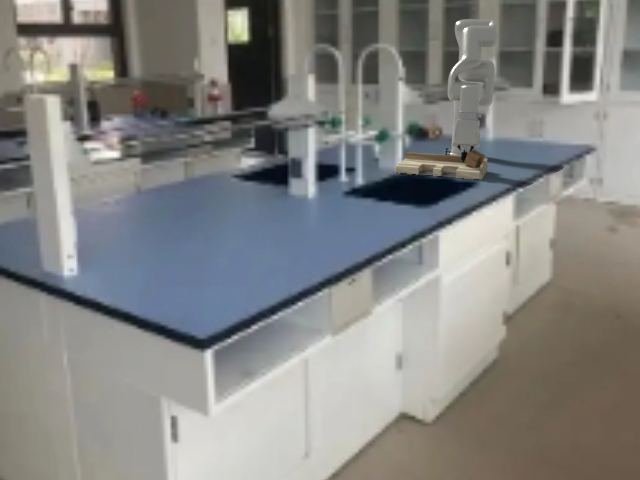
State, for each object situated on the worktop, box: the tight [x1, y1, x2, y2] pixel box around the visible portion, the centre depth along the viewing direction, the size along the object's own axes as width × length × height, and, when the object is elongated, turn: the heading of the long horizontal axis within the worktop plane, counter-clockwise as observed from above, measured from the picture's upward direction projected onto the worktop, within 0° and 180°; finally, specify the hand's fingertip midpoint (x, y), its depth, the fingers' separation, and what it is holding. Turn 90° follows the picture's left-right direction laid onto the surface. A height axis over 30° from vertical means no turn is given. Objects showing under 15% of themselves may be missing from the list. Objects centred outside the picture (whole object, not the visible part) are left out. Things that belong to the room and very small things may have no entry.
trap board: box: [395, 151, 489, 181], centre depth 285 cm, size 18×34×6 cm, turn 71°
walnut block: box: [464, 149, 486, 168], centre depth 282 cm, size 5×5×5 cm
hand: (464, 161), depth 285 cm, fingers closed
